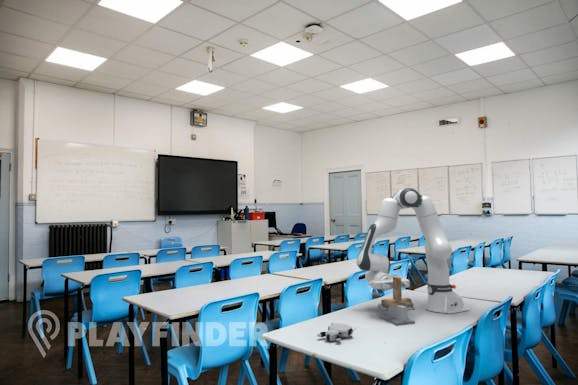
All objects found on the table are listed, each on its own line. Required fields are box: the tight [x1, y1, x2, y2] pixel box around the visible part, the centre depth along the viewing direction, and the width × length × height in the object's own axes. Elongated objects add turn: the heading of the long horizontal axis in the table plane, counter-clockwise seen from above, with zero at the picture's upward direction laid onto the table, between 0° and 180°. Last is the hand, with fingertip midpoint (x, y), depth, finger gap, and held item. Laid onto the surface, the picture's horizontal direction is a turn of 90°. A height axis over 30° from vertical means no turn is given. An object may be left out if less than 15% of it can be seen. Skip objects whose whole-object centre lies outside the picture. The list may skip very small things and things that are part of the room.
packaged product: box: [378, 298, 416, 311], centre depth 220 cm, size 18×5×10 cm
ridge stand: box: [381, 305, 416, 327], centre depth 194 cm, size 10×14×8 cm
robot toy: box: [316, 322, 357, 342], centre depth 169 cm, size 12×4×15 cm
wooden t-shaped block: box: [383, 276, 412, 306], centre depth 195 cm, size 14×3×14 cm, turn 105°
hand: (398, 286), depth 194 cm, fingers open, 8 cm apart
